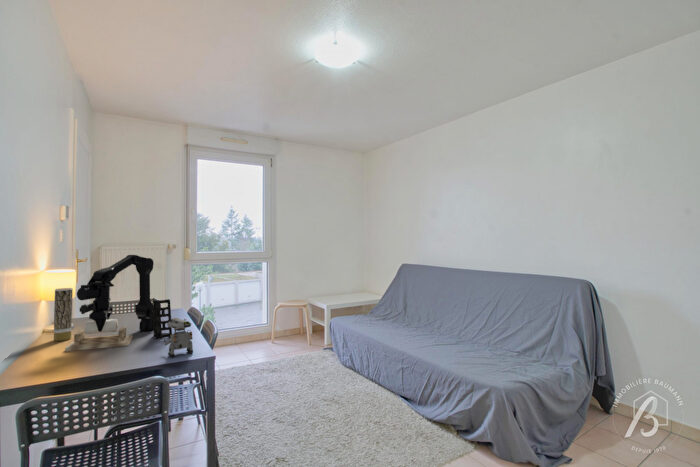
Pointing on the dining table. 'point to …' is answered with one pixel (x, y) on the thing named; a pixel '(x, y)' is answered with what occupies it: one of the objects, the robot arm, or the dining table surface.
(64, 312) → the bark textured pillar
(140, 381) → the dining table surface
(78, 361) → the dining table surface
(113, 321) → the paper roll
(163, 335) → the holder
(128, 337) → the roll cradle
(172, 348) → the figurine
